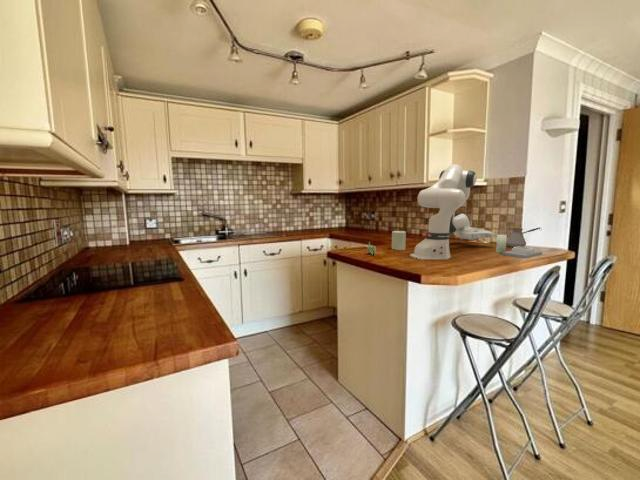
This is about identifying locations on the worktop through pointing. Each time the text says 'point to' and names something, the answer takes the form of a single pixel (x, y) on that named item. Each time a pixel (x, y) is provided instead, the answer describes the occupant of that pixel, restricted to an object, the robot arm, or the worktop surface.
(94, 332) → the worktop surface
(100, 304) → the worktop surface
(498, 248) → the post
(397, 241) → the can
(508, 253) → the base board
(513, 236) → the coffee pot
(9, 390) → the worktop surface
